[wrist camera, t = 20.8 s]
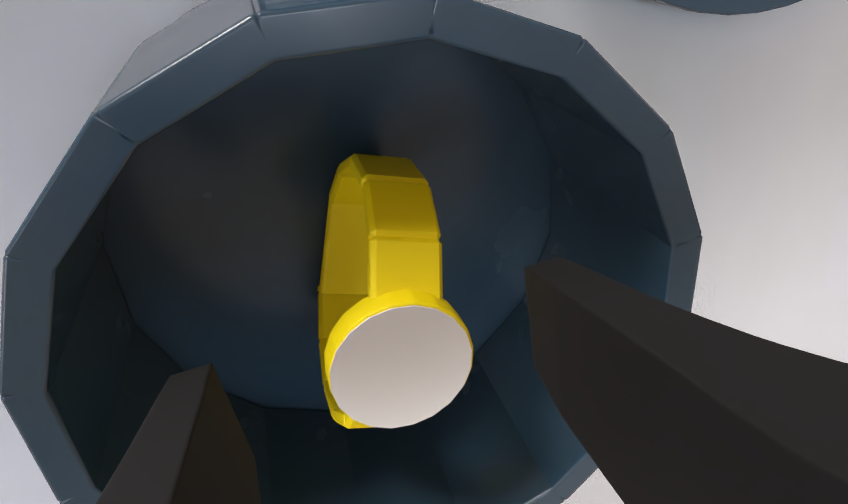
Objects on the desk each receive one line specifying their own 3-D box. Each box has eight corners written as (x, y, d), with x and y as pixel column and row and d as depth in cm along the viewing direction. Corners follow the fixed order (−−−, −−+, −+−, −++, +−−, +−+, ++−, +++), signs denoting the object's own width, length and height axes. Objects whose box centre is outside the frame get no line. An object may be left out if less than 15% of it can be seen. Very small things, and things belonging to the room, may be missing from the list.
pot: (191, 519, 20) (179, 721, 15) (-85, -153, 11) (-346, -211, 6) (557, 416, 23) (653, 560, 18) (575, -198, 14) (781, -267, 9)
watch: (382, 332, 18) (441, 490, 13) (286, 332, 17) (310, 502, 12) (418, 134, 16) (509, 236, 11) (307, 122, 15) (350, 227, 10)
